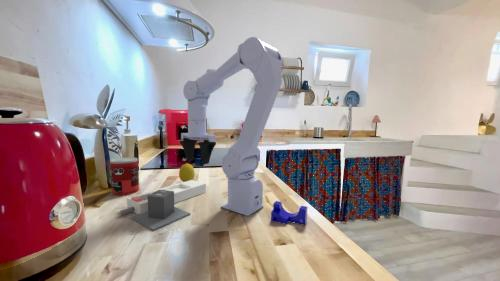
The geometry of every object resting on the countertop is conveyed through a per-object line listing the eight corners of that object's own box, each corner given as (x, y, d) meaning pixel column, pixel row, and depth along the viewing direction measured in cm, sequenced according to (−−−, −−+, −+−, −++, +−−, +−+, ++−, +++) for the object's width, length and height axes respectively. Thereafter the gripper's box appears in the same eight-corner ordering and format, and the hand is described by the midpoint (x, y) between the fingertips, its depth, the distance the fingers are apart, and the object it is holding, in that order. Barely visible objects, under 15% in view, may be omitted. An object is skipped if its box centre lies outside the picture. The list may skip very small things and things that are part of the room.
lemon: (192, 186, 78) (191, 164, 77) (177, 186, 78) (176, 164, 77) (196, 181, 83) (196, 161, 83) (182, 181, 84) (181, 161, 83)
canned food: (109, 191, 71) (107, 159, 70) (135, 186, 77) (133, 156, 76) (114, 197, 66) (112, 162, 65) (142, 191, 72) (141, 159, 70)
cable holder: (270, 221, 52) (271, 205, 52) (275, 215, 56) (275, 200, 55) (303, 229, 49) (304, 212, 49) (306, 222, 52) (307, 206, 52)
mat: (190, 214, 55) (190, 213, 55) (153, 231, 47) (153, 229, 47) (167, 205, 61) (167, 203, 61) (131, 218, 53) (131, 216, 53)
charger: (174, 211, 56) (173, 190, 55) (164, 219, 52) (163, 196, 51) (159, 210, 57) (158, 189, 56) (148, 217, 52) (147, 195, 52)
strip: (192, 188, 76) (192, 178, 76) (205, 192, 72) (205, 182, 71) (115, 212, 56) (114, 199, 55) (128, 220, 52) (127, 206, 51)
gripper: (222, 120, 68) (222, 163, 69) (192, 120, 76) (193, 157, 78) (205, 121, 62) (206, 166, 63) (175, 120, 70) (176, 160, 72)
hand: (197, 162), depth 70 cm, fingers open, 7 cm apart
